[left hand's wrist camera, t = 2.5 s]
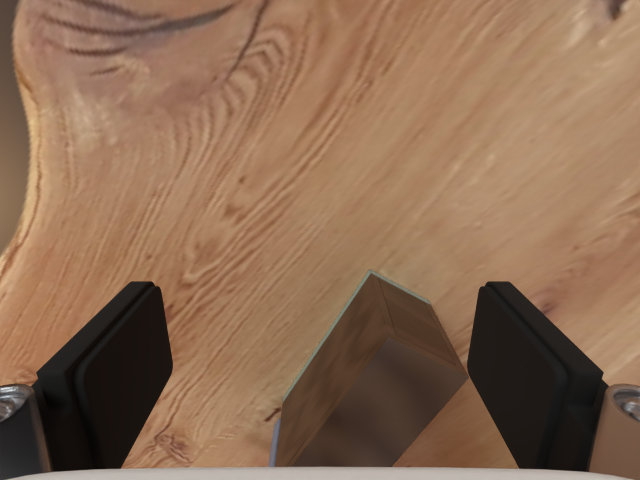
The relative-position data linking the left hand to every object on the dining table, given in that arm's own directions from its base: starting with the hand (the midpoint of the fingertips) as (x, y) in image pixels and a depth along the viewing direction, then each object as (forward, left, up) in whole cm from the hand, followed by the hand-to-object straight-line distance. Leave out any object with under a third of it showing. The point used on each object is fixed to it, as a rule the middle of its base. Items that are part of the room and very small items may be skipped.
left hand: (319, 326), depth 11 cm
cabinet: (-7, +16, -22) cm, 28 cm away
